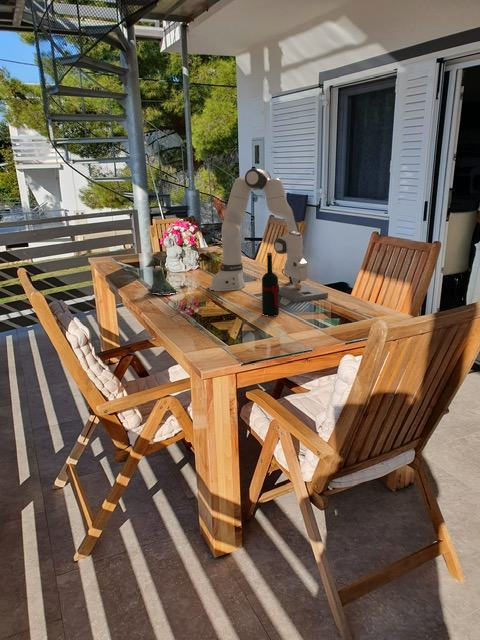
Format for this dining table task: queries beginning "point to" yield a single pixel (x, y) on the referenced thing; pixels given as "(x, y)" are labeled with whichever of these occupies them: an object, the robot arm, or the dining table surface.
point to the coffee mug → (289, 277)
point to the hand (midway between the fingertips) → (295, 285)
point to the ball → (298, 286)
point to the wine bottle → (270, 290)
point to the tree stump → (160, 283)
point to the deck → (302, 293)
